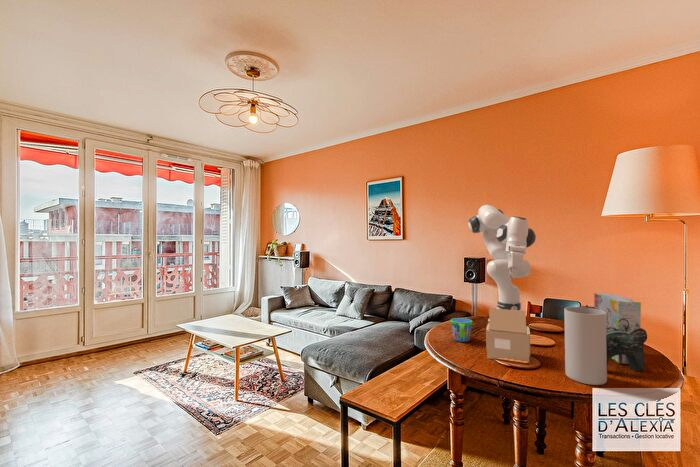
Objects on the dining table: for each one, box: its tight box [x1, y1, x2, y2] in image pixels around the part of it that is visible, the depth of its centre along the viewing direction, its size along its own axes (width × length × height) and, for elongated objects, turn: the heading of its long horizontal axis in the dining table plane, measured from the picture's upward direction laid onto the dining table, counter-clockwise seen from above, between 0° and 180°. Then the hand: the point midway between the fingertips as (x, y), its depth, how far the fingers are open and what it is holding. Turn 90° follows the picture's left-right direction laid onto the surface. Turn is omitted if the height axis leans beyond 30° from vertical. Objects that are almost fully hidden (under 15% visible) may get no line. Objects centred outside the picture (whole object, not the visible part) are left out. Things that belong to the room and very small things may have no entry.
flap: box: [488, 307, 527, 333], centre depth 141 cm, size 9×14×1 cm
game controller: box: [606, 319, 648, 372], centre depth 129 cm, size 20×6×20 cm, turn 91°
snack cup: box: [450, 317, 474, 343], centre depth 168 cm, size 16×10×10 cm
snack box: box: [593, 292, 642, 365], centre depth 144 cm, size 22×9×26 cm, turn 166°
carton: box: [485, 322, 531, 363], centre depth 146 cm, size 15×17×12 cm
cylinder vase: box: [563, 306, 608, 386], centre depth 122 cm, size 12×12×25 cm
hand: (512, 277), depth 158 cm, fingers open, 8 cm apart
